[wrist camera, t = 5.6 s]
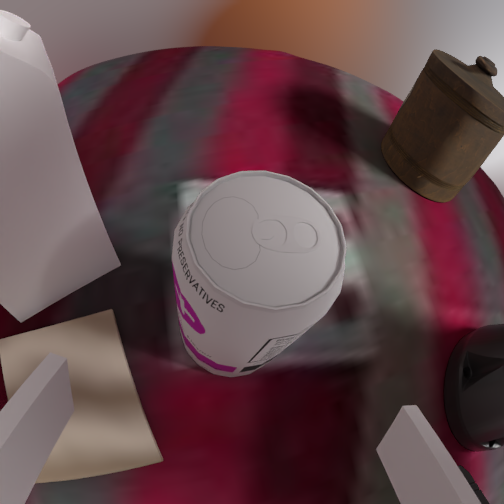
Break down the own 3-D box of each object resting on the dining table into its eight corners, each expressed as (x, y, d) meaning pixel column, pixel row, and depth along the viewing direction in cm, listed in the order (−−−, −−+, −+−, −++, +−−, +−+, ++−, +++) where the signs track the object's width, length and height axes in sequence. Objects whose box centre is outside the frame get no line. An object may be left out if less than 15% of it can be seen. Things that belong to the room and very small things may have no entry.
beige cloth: (163, 459, 19) (162, 461, 19) (37, 482, 15) (33, 483, 15) (113, 312, 25) (111, 308, 24) (2, 342, 21) (-2, 339, 20)
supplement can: (179, 377, 23) (162, 322, 10) (183, 283, 27) (181, 155, 15) (279, 377, 25) (373, 323, 12) (273, 287, 29) (338, 171, 16)
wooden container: (431, 143, 49) (488, 53, 30) (467, 207, 42) (547, 112, 23) (367, 128, 46) (423, 15, 27) (401, 198, 39) (491, 70, 20)
